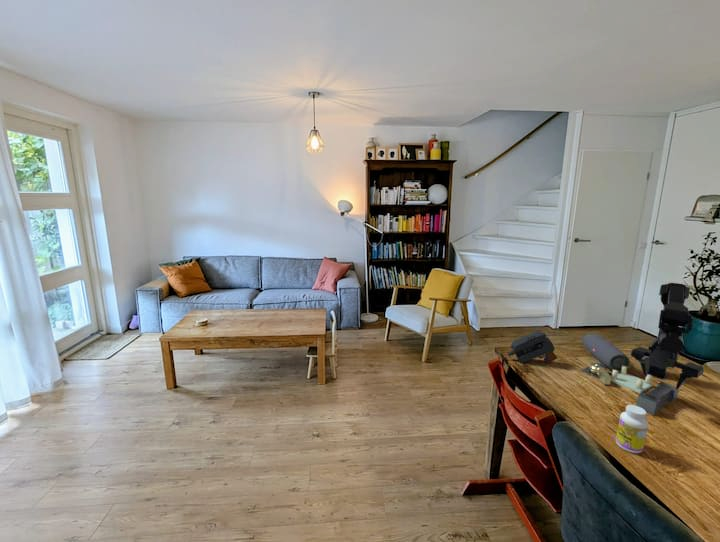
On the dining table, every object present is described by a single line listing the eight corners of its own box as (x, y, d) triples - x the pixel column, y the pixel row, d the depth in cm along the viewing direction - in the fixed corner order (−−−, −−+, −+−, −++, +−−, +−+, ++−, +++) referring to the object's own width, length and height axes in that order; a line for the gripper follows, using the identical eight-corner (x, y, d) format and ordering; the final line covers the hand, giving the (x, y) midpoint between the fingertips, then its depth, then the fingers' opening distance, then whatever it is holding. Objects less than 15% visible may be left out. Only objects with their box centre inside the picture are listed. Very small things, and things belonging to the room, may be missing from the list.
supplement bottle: (609, 439, 105) (616, 403, 102) (629, 437, 106) (636, 401, 103) (628, 455, 99) (635, 417, 96) (648, 453, 99) (657, 415, 96)
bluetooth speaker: (579, 350, 166) (582, 331, 164) (599, 351, 165) (602, 332, 162) (605, 374, 144) (609, 352, 142) (629, 375, 143) (633, 353, 140)
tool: (561, 360, 150) (547, 332, 148) (519, 376, 155) (505, 349, 154) (556, 354, 155) (542, 327, 154) (516, 369, 161) (502, 343, 159)
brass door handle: (586, 367, 148) (588, 360, 147) (602, 369, 146) (603, 362, 146) (598, 383, 136) (599, 375, 135) (615, 385, 134) (616, 377, 133)
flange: (591, 365, 151) (591, 365, 151) (614, 374, 143) (614, 374, 143) (580, 370, 146) (580, 370, 146) (603, 380, 139) (603, 379, 139)
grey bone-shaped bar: (658, 393, 130) (661, 381, 129) (676, 400, 125) (678, 388, 124) (635, 407, 121) (638, 395, 120) (653, 415, 116) (656, 402, 115)
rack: (621, 373, 144) (623, 364, 143) (653, 385, 135) (655, 375, 134) (608, 380, 139) (610, 370, 138) (640, 393, 129) (642, 383, 128)
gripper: (627, 338, 122) (620, 376, 125) (695, 359, 106) (685, 402, 110) (641, 332, 127) (634, 369, 131) (709, 351, 111) (698, 393, 115)
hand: (660, 382), depth 121 cm, fingers open, 9 cm apart
